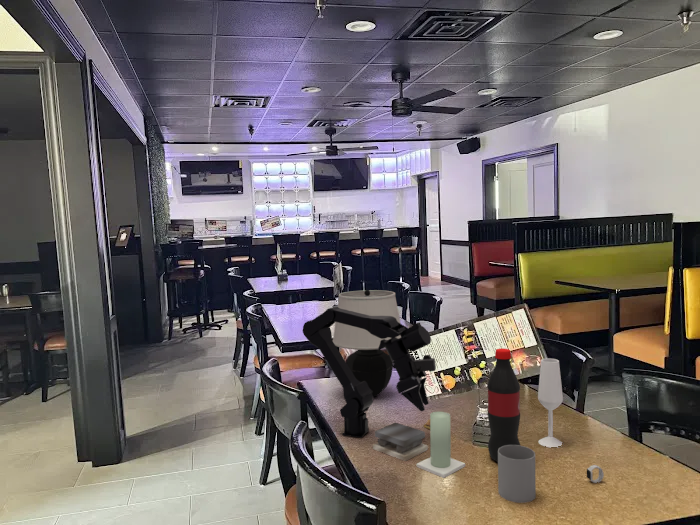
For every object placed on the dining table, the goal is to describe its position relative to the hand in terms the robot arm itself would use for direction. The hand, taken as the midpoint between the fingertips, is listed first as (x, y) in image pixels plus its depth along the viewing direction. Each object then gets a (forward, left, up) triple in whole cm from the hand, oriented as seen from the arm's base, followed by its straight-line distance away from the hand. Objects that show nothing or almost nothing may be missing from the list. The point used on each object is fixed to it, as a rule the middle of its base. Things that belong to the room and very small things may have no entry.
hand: (425, 407), depth 153 cm
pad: (+7, -11, -12) cm, 17 cm away
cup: (+27, -19, -12) cm, 35 cm away
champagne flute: (+33, +14, -12) cm, 38 cm away
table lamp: (-32, +39, -12) cm, 52 cm away
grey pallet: (-6, -4, -12) cm, 14 cm away
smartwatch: (+44, -7, -12) cm, 46 cm away
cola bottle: (+22, -1, -12) cm, 25 cm away
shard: (+1, +15, -12) cm, 19 cm away
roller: (+7, -11, -11) cm, 17 cm away
